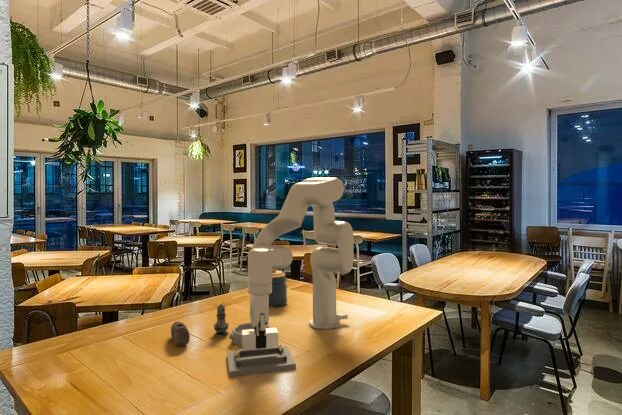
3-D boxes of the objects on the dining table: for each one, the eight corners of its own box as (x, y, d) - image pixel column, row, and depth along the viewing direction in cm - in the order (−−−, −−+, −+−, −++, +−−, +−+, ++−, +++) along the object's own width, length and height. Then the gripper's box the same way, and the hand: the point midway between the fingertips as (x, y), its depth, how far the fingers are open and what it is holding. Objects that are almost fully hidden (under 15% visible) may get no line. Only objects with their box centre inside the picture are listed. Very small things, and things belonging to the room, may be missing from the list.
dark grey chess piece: (225, 337, 145) (225, 305, 144) (210, 336, 146) (210, 304, 146) (231, 332, 151) (231, 301, 150) (217, 330, 152) (217, 300, 151)
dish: (276, 336, 147) (276, 323, 146) (259, 351, 134) (259, 336, 133) (242, 332, 151) (242, 319, 151) (222, 345, 138) (222, 331, 138)
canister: (286, 307, 182) (286, 270, 181) (258, 307, 182) (258, 270, 181) (288, 299, 195) (288, 264, 194) (262, 299, 195) (262, 264, 194)
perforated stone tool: (168, 335, 147) (168, 317, 147) (182, 333, 150) (182, 315, 149) (174, 350, 134) (174, 330, 134) (190, 347, 136) (190, 327, 136)
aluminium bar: (241, 345, 125) (241, 329, 125) (276, 342, 127) (276, 327, 127) (242, 351, 121) (242, 335, 120) (278, 347, 123) (278, 332, 123)
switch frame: (286, 350, 134) (286, 338, 134) (296, 368, 120) (296, 355, 120) (227, 356, 129) (226, 344, 128) (229, 376, 115) (229, 362, 115)
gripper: (245, 282, 130) (245, 336, 131) (251, 295, 114) (251, 357, 115) (267, 281, 132) (267, 334, 133) (276, 293, 116) (276, 354, 117)
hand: (259, 344), depth 124 cm, fingers closed on aluminium bar, 4 cm apart
